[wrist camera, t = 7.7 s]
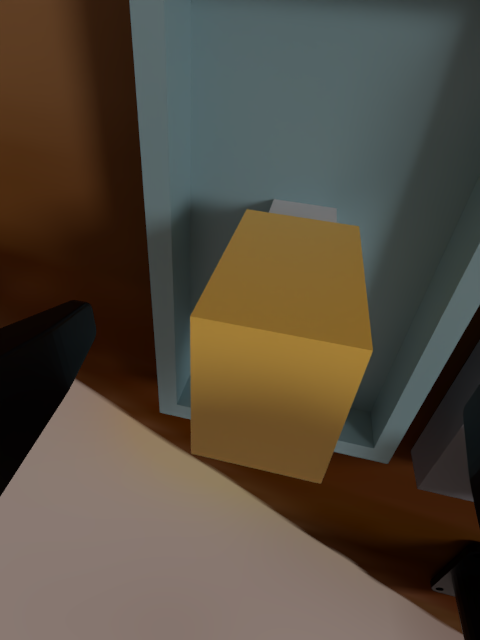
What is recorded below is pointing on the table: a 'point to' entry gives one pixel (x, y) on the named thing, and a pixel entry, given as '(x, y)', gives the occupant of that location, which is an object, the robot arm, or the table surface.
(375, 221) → the parts tray
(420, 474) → the block
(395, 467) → the table surface
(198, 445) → the block
